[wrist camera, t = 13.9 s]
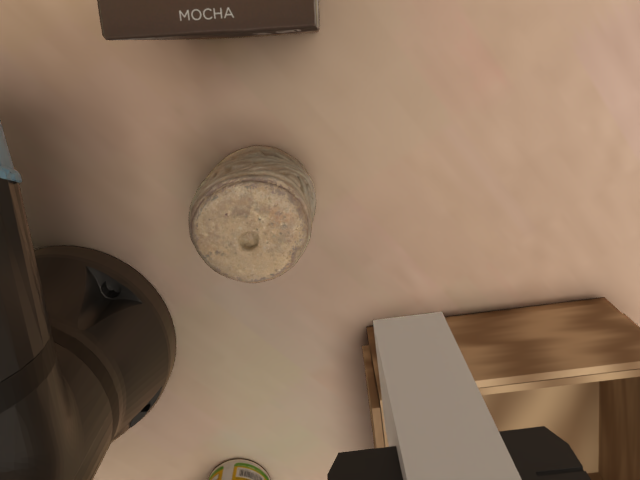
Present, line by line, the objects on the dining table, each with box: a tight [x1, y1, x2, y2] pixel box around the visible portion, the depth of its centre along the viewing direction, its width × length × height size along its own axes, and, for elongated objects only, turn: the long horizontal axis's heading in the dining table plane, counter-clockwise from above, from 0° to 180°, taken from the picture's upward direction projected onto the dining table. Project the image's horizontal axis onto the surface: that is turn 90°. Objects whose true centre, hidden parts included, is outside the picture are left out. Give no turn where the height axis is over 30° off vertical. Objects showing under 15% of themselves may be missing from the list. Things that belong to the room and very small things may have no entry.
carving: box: [189, 146, 316, 283], centre depth 37 cm, size 6×8×12 cm
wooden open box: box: [362, 297, 640, 480], centre depth 44 cm, size 19×16×10 cm
